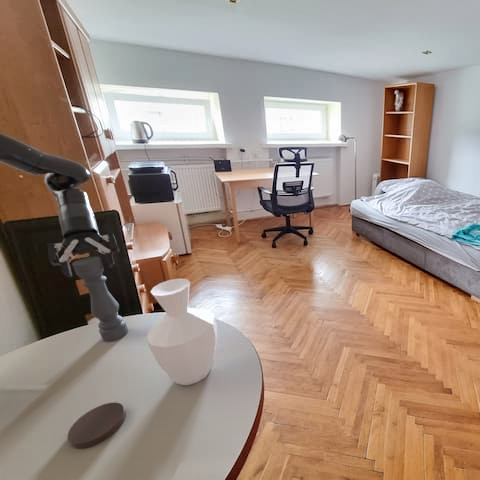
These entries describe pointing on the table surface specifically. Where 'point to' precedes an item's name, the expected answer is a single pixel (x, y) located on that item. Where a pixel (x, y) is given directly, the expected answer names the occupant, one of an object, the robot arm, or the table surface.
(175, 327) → the vase
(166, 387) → the table surface
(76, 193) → the robot arm
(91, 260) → the candle holder
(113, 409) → the coaster
